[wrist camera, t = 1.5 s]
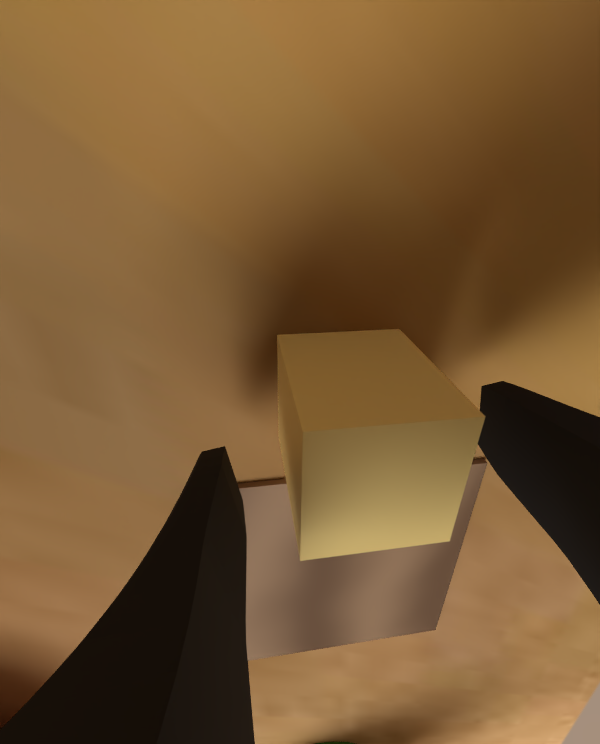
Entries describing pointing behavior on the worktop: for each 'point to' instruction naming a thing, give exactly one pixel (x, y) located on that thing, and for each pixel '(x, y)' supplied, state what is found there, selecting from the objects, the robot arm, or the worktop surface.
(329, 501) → the ochre block
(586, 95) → the worktop surface
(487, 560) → the worktop surface
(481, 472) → the walnut base
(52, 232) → the worktop surface
